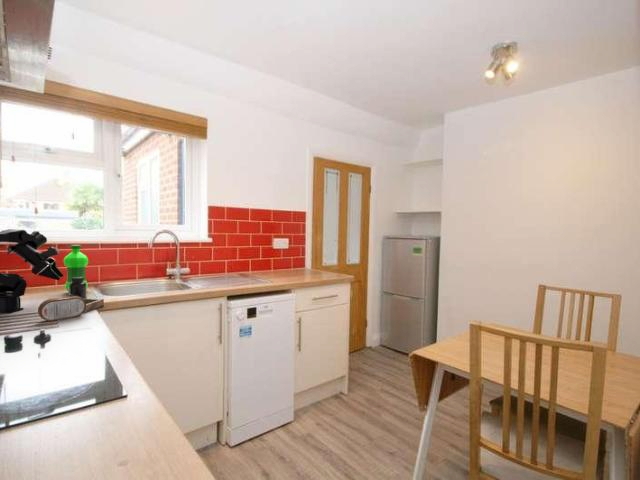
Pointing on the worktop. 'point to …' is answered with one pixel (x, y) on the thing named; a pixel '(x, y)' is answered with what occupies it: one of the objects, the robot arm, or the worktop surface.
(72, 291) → the supplement bottle
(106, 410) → the worktop surface
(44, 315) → the tin
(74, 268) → the plastic bottle
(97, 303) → the keeper collar
